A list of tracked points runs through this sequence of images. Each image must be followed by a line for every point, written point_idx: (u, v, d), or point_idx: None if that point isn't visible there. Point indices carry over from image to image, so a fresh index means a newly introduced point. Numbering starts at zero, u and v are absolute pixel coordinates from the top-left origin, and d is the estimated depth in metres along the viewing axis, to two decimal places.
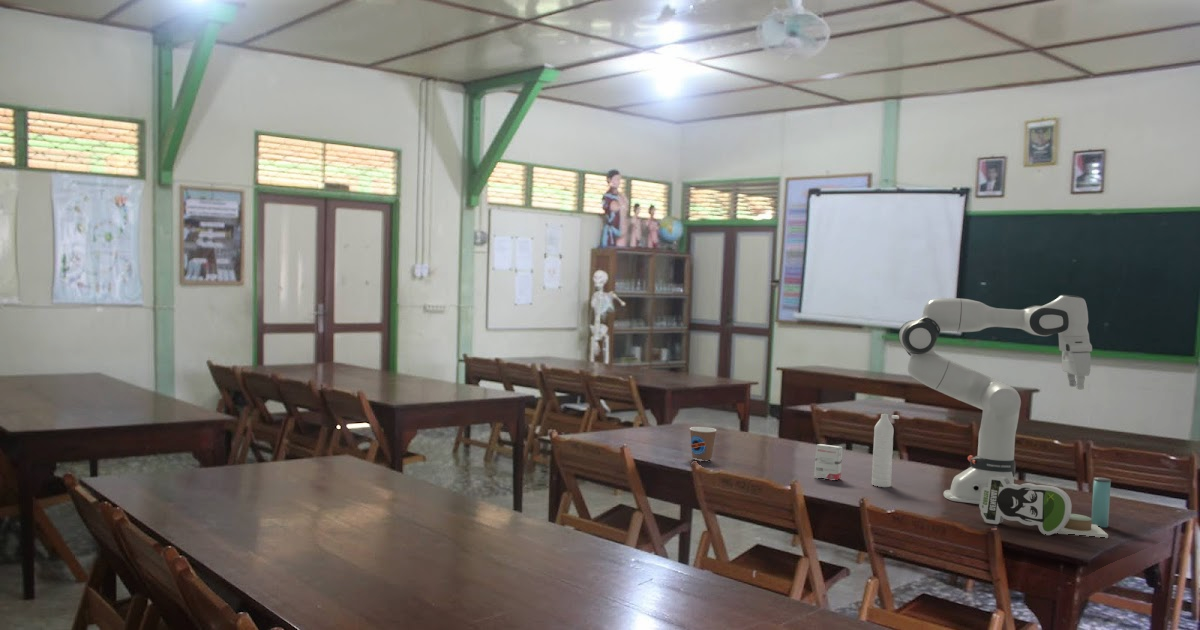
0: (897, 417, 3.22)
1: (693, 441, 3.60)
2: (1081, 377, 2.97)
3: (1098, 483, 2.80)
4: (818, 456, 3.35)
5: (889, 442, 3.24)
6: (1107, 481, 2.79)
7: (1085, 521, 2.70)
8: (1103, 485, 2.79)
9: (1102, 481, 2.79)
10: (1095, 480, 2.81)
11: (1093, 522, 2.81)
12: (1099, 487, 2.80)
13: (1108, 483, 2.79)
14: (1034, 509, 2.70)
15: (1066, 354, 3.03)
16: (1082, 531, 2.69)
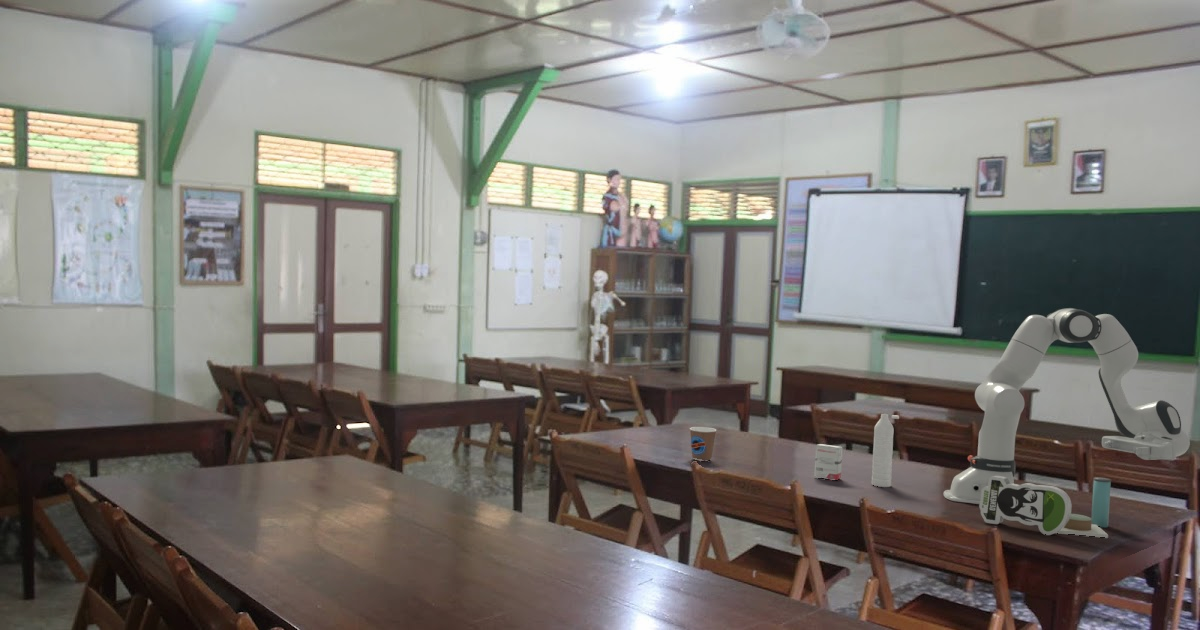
0: (897, 417, 3.22)
1: (693, 441, 3.60)
2: (1148, 451, 2.85)
3: (1098, 483, 2.80)
4: (818, 455, 3.35)
5: (889, 442, 3.24)
6: (1107, 481, 2.79)
7: (1085, 521, 2.70)
8: (1103, 485, 2.79)
9: (1102, 481, 2.79)
10: (1095, 480, 2.81)
11: (1093, 522, 2.81)
12: (1099, 487, 2.80)
13: (1108, 483, 2.79)
14: (1034, 509, 2.70)
15: (1147, 438, 2.93)
16: (1082, 531, 2.69)
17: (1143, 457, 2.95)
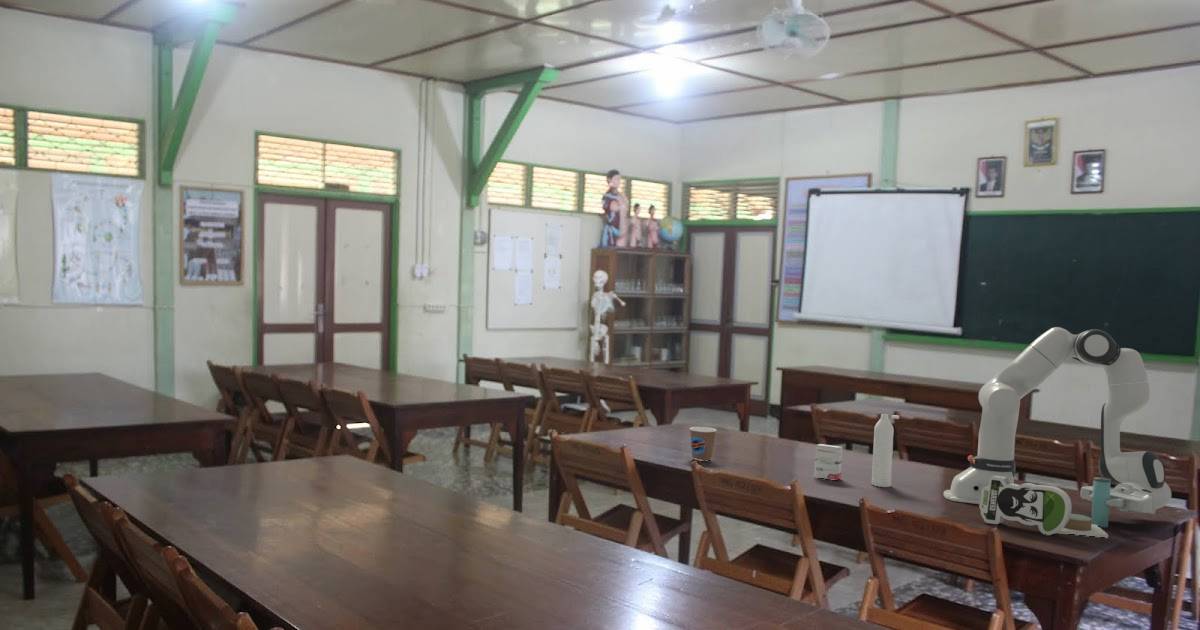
0: (897, 417, 3.22)
1: (693, 441, 3.60)
2: (1122, 503, 2.79)
3: (1098, 483, 2.80)
4: (818, 456, 3.35)
5: (889, 442, 3.24)
6: (1107, 481, 2.79)
7: (1085, 521, 2.70)
8: (1103, 485, 2.79)
9: (1102, 481, 2.79)
10: (1095, 480, 2.81)
11: (1093, 522, 2.81)
12: (1099, 487, 2.80)
13: (1108, 483, 2.79)
14: (1034, 509, 2.70)
15: (1127, 490, 2.85)
16: (1082, 531, 2.69)
17: (1123, 509, 2.87)
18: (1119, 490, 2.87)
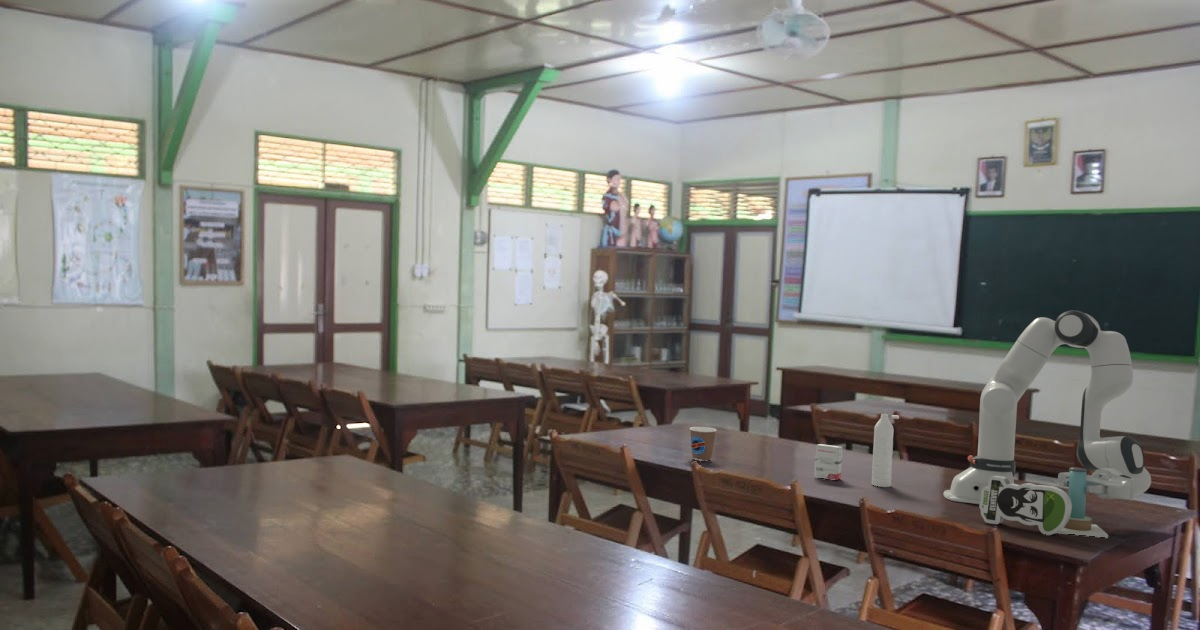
0: (897, 417, 3.22)
1: (693, 441, 3.60)
2: (1102, 490, 2.70)
3: (1074, 473, 2.72)
4: (818, 456, 3.35)
5: (889, 442, 3.24)
6: (1083, 471, 2.71)
7: (1085, 521, 2.70)
8: (1079, 475, 2.72)
9: (1078, 471, 2.72)
10: (1071, 470, 2.73)
11: None
12: (1075, 477, 2.72)
13: (1084, 473, 2.72)
14: (1034, 509, 2.70)
15: (1105, 475, 2.77)
16: (1082, 531, 2.69)
17: (1101, 496, 2.79)
18: (1097, 476, 2.79)
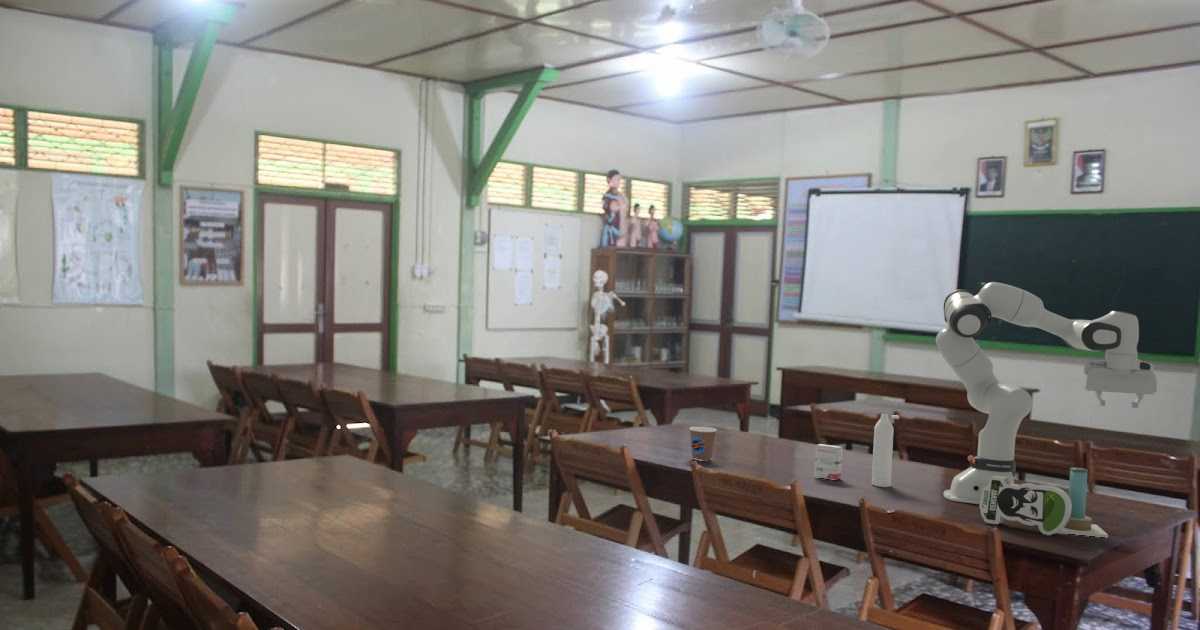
0: (897, 417, 3.22)
1: (693, 441, 3.60)
2: None
3: (1074, 473, 2.72)
4: (818, 456, 3.35)
5: (889, 442, 3.24)
6: (1084, 471, 2.71)
7: (1085, 521, 2.70)
8: (1079, 475, 2.71)
9: (1078, 471, 2.71)
10: (1071, 470, 2.73)
11: None
12: (1075, 477, 2.72)
13: (1085, 473, 2.71)
14: (1034, 509, 2.70)
15: (1128, 373, 2.92)
16: (1082, 531, 2.69)
17: None
18: (1119, 373, 2.93)
